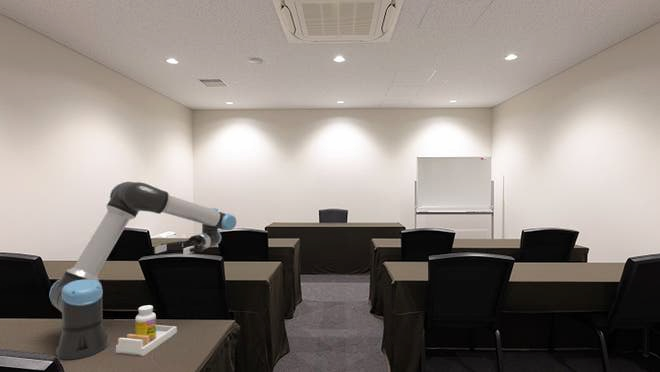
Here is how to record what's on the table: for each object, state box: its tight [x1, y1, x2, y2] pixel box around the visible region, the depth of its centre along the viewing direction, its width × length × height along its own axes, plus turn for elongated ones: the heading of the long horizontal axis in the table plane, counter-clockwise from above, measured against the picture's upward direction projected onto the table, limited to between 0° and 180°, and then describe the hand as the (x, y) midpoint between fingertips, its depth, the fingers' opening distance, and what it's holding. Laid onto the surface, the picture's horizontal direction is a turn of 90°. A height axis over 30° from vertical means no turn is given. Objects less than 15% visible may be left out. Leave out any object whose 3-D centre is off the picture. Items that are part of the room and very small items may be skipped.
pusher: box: [126, 333, 149, 347], centre depth 124 cm, size 8×1×4 cm, turn 78°
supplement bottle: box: [134, 304, 157, 343], centre depth 127 cm, size 7×7×13 cm
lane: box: [115, 324, 178, 357], centre depth 129 cm, size 11×18×5 cm, turn 169°
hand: (169, 251), depth 146 cm, fingers open, 13 cm apart
